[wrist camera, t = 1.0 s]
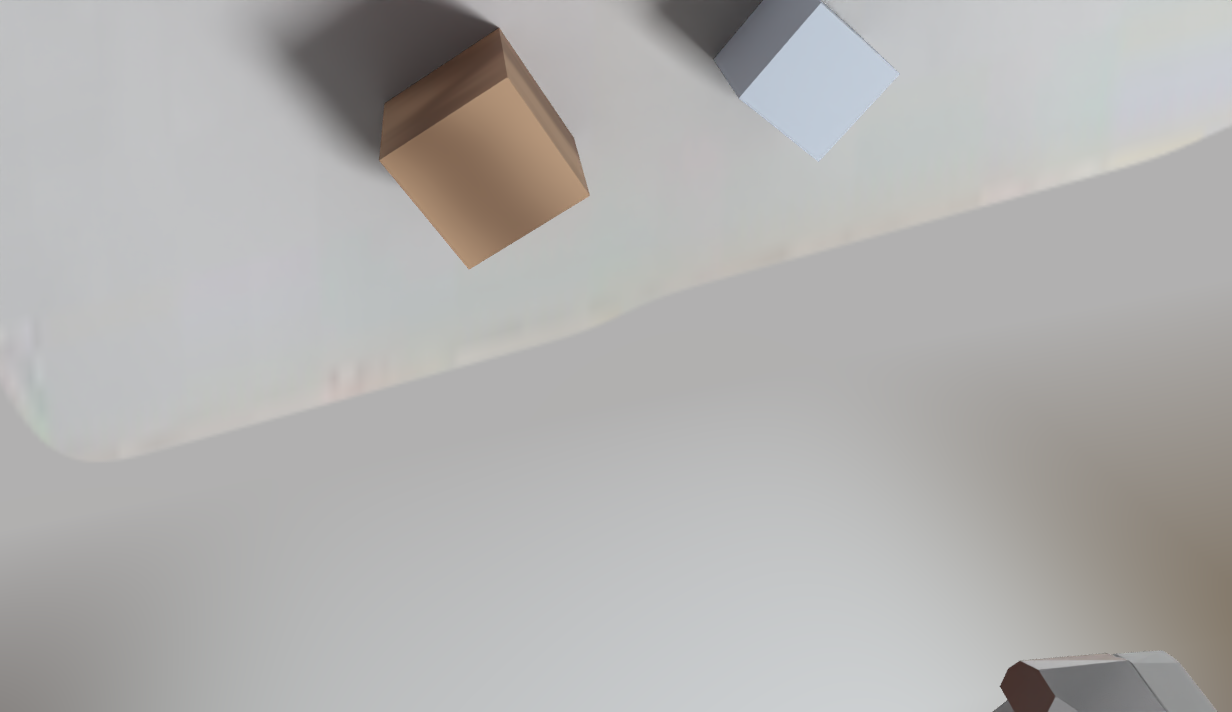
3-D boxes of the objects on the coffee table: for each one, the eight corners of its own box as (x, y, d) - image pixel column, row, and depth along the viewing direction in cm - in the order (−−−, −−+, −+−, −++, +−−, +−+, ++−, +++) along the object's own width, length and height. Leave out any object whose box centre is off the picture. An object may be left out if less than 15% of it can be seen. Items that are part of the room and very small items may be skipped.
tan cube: (498, 26, 37) (507, 77, 33) (573, 137, 40) (589, 195, 36) (384, 102, 38) (379, 160, 34) (465, 204, 41) (469, 269, 37)
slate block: (786, -31, 37) (821, 2, 34) (860, 36, 39) (900, 73, 36) (712, 58, 39) (739, 98, 36) (787, 118, 41) (818, 161, 37)
